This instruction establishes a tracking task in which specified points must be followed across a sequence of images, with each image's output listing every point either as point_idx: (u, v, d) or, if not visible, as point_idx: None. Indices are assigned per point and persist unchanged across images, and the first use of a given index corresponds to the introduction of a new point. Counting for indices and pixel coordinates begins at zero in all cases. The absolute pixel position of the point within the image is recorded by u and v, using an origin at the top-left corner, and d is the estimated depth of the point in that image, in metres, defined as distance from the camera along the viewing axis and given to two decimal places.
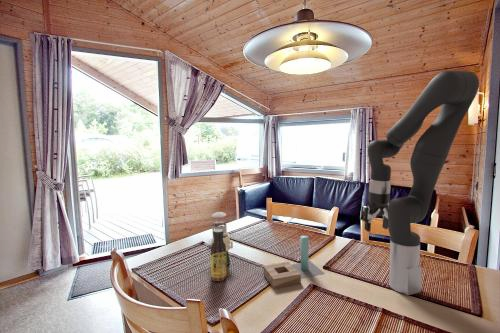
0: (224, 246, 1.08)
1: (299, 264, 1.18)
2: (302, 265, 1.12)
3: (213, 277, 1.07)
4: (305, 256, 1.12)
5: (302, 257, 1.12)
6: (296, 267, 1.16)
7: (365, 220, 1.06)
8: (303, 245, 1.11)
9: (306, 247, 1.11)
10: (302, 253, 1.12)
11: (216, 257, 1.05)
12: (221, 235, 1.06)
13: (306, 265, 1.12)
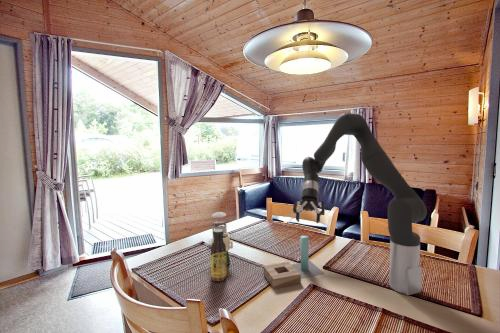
0: (224, 246, 1.08)
1: (299, 264, 1.18)
2: (302, 265, 1.12)
3: (213, 277, 1.07)
4: (305, 256, 1.12)
5: (302, 257, 1.12)
6: (296, 267, 1.16)
7: (293, 209, 1.27)
8: (303, 245, 1.11)
9: (306, 247, 1.11)
10: (302, 253, 1.12)
11: (216, 257, 1.05)
12: (221, 235, 1.06)
13: (306, 265, 1.12)
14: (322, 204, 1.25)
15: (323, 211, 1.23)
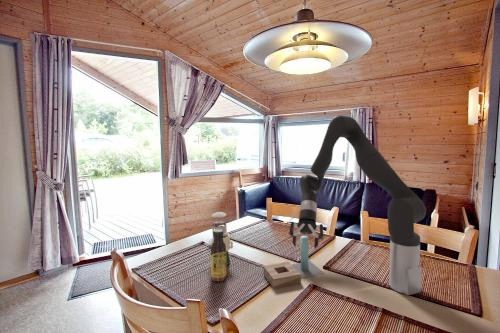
0: (224, 246, 1.08)
1: (299, 264, 1.18)
2: (302, 265, 1.12)
3: (213, 277, 1.07)
4: (305, 256, 1.12)
5: (302, 257, 1.12)
6: (296, 267, 1.16)
7: (290, 232, 1.19)
8: (303, 245, 1.11)
9: (306, 247, 1.11)
10: (302, 253, 1.12)
11: (216, 257, 1.05)
12: (221, 235, 1.06)
13: (306, 265, 1.12)
14: (321, 227, 1.16)
15: (322, 235, 1.14)
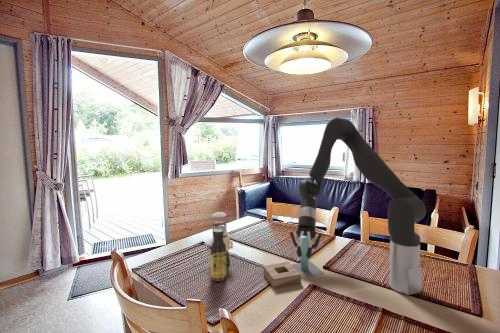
0: (224, 246, 1.08)
1: (299, 264, 1.18)
2: (302, 265, 1.12)
3: (213, 277, 1.07)
4: (305, 256, 1.12)
5: (302, 257, 1.12)
6: (296, 267, 1.16)
7: (294, 243, 1.15)
8: (303, 245, 1.11)
9: (306, 247, 1.11)
10: (302, 253, 1.12)
11: (216, 257, 1.05)
12: (221, 235, 1.06)
13: (306, 265, 1.12)
14: (318, 237, 1.13)
15: (315, 245, 1.12)
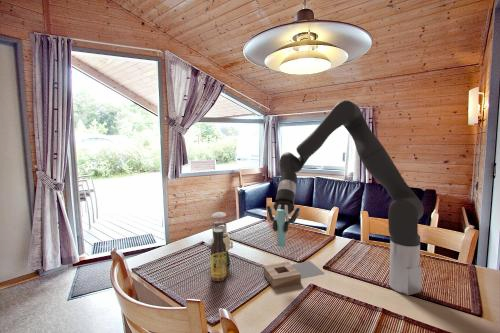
0: (224, 246, 1.08)
1: (299, 264, 1.18)
2: (278, 240, 1.05)
3: (213, 277, 1.07)
4: (282, 231, 1.04)
5: (278, 231, 1.05)
6: (296, 267, 1.16)
7: (270, 217, 1.07)
8: (279, 219, 1.04)
9: (282, 221, 1.04)
10: (278, 227, 1.04)
11: (216, 257, 1.05)
12: (221, 235, 1.06)
13: (282, 240, 1.05)
14: (296, 211, 1.06)
15: (292, 219, 1.04)
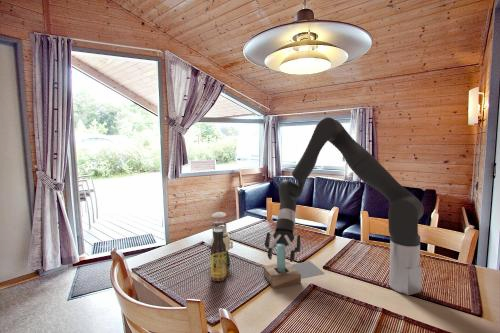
0: (224, 246, 1.08)
1: (299, 264, 1.18)
2: None
3: (213, 277, 1.07)
4: (282, 266, 1.05)
5: (278, 266, 1.05)
6: (296, 267, 1.16)
7: (265, 244, 1.09)
8: (279, 254, 1.05)
9: (282, 256, 1.05)
10: (278, 262, 1.05)
11: (216, 257, 1.05)
12: (221, 235, 1.06)
13: None
14: (298, 239, 1.07)
15: (298, 248, 1.05)
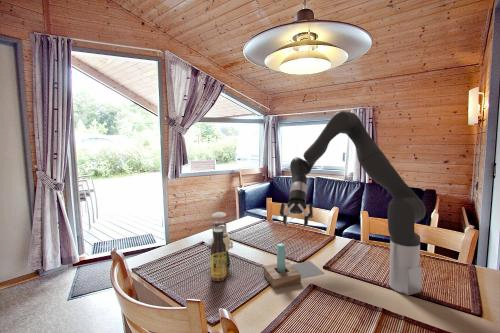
0: (224, 246, 1.08)
1: (299, 264, 1.18)
2: None
3: (213, 277, 1.07)
4: (282, 266, 1.05)
5: (278, 266, 1.05)
6: (296, 267, 1.16)
7: (280, 212, 1.21)
8: (279, 254, 1.04)
9: (282, 256, 1.05)
10: (278, 262, 1.05)
11: (216, 257, 1.05)
12: (221, 235, 1.06)
13: None
14: (310, 206, 1.19)
15: (311, 214, 1.17)
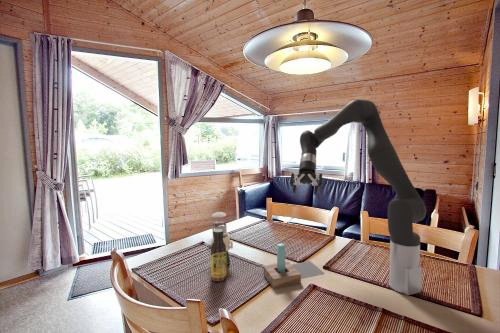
0: (224, 246, 1.08)
1: (299, 264, 1.18)
2: None
3: (213, 277, 1.07)
4: (282, 266, 1.05)
5: (278, 266, 1.05)
6: (296, 267, 1.16)
7: (290, 182, 1.23)
8: (279, 254, 1.05)
9: (282, 256, 1.05)
10: (278, 262, 1.05)
11: (216, 257, 1.05)
12: (221, 235, 1.06)
13: None
14: (320, 176, 1.21)
15: (321, 183, 1.18)
